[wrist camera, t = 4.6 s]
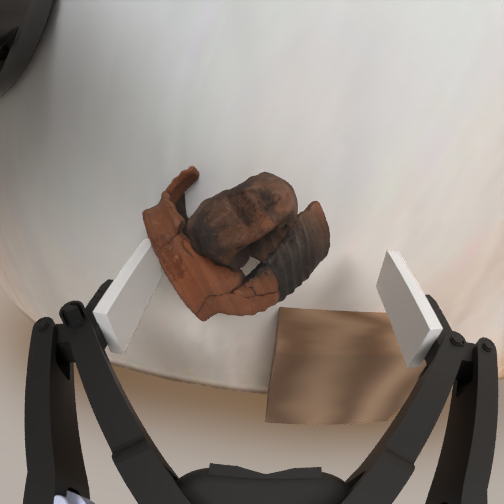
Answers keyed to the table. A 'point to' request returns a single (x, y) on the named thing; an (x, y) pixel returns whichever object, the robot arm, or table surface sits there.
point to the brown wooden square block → (336, 368)
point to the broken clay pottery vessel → (236, 244)
